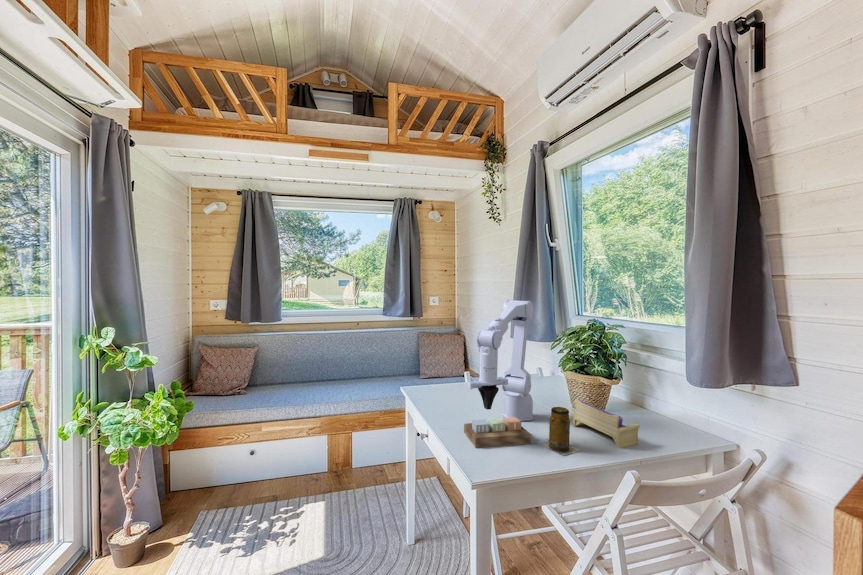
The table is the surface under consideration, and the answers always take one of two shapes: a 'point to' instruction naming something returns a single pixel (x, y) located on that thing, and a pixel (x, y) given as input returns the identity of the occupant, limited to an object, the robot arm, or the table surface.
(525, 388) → the robot arm
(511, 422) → the terracotta key
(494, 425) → the sage key
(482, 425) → the slate key
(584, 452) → the table surface
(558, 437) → the condiment
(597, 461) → the table surface
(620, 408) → the table surface
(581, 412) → the toy sofa
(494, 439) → the brown wooden tray
